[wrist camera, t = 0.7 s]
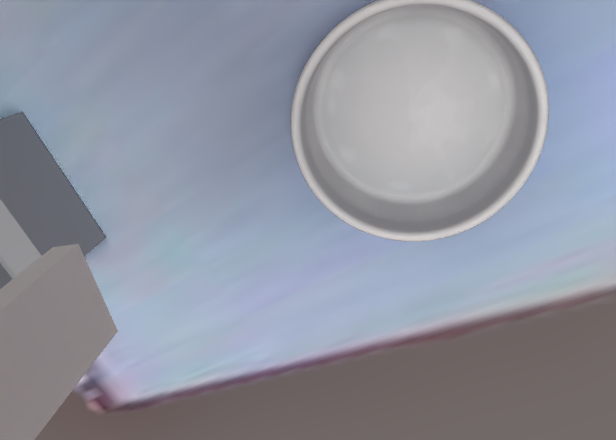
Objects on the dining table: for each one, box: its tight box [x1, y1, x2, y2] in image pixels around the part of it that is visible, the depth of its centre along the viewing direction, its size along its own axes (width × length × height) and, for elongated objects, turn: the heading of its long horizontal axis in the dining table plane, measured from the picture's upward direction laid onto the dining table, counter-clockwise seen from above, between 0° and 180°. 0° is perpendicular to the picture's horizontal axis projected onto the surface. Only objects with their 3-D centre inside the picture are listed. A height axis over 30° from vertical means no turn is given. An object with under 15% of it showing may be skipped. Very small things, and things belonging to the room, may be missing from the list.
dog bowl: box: [291, 0, 549, 241], centre depth 33 cm, size 15×15×6 cm
